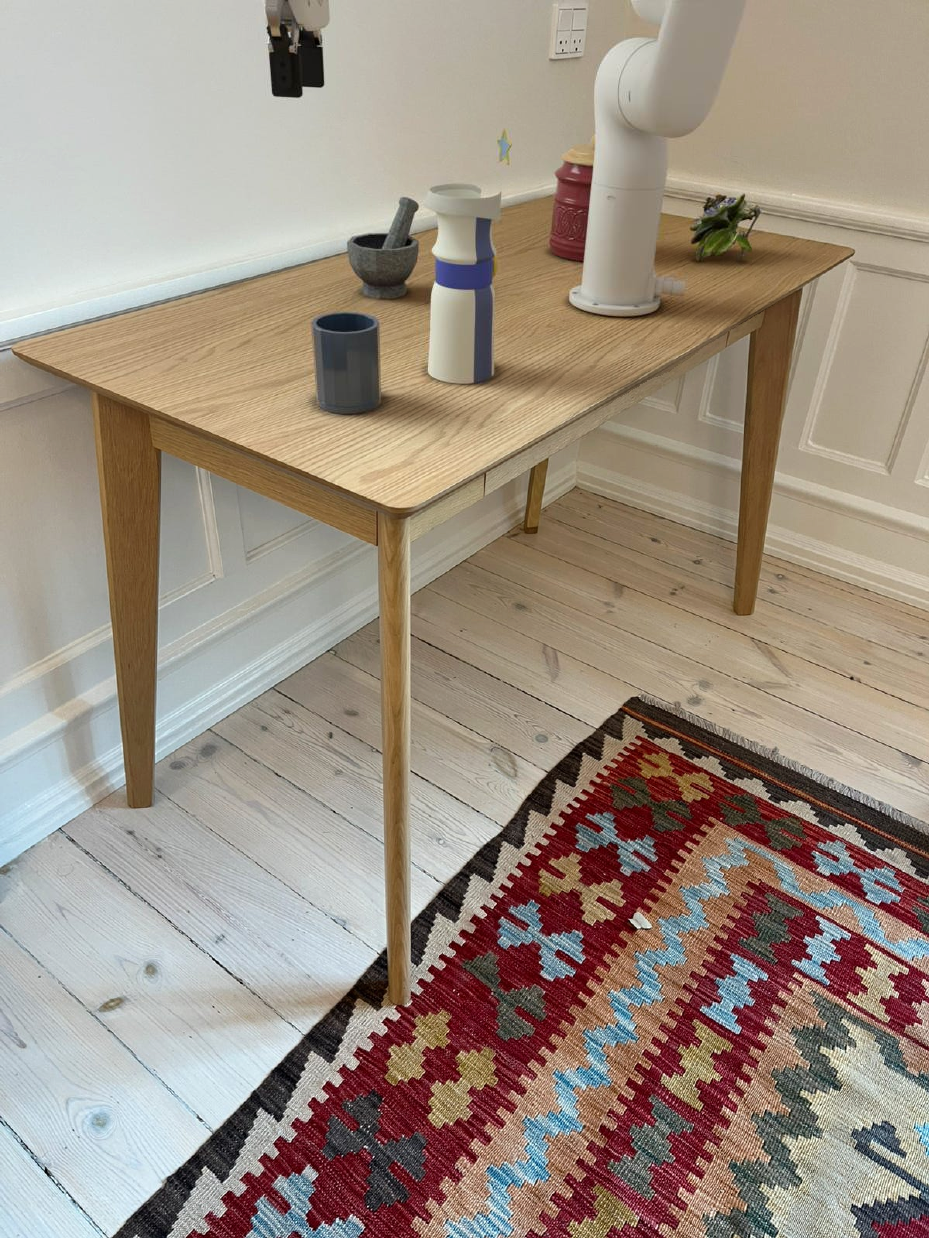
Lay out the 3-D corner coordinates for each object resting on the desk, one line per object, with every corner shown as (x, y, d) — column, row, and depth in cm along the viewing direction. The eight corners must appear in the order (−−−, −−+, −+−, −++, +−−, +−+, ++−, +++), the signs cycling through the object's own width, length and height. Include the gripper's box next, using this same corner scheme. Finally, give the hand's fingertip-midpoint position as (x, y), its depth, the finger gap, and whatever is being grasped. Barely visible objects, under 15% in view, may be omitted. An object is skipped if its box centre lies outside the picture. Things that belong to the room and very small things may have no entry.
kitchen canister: (632, 265, 147) (648, 141, 136) (550, 262, 147) (560, 138, 136) (622, 244, 157) (637, 127, 147) (546, 241, 157) (555, 125, 147)
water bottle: (460, 352, 112) (466, 120, 98) (511, 372, 107) (525, 131, 93) (409, 368, 108) (407, 127, 93) (460, 389, 103) (467, 138, 88)
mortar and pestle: (380, 307, 126) (378, 212, 119) (335, 291, 131) (331, 200, 124) (439, 291, 133) (440, 201, 126) (394, 277, 138) (392, 189, 131)
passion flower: (700, 283, 158) (724, 216, 158) (757, 286, 151) (783, 214, 150) (668, 252, 150) (693, 180, 149) (727, 253, 143) (754, 177, 142)
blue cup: (385, 391, 102) (383, 313, 97) (375, 416, 96) (372, 335, 91) (324, 387, 102) (319, 310, 97) (310, 412, 97) (304, 331, 92)
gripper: (302, -109, 85) (313, 103, 95) (343, -99, 99) (349, 85, 109) (222, -112, 86) (242, 99, 96) (274, -101, 100) (287, 82, 110)
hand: (299, 91), depth 102 cm, fingers open, 9 cm apart
